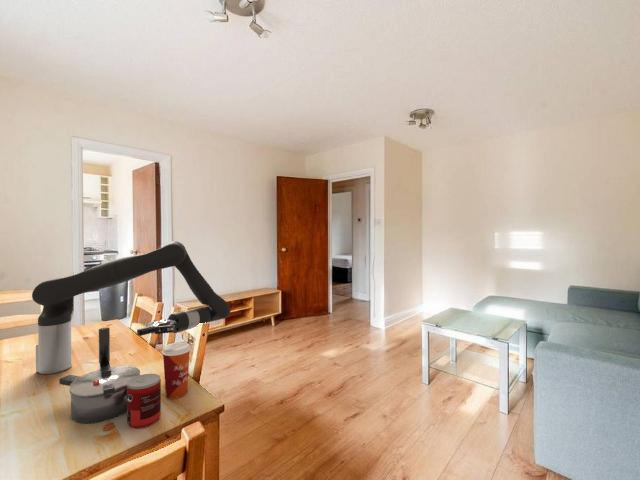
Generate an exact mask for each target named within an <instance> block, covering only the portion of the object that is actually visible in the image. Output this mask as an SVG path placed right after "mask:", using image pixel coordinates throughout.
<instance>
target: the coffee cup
mask: <svg viewBox="0 0 640 480" xmlns="http://www.w3.org/2000/svg"><path fill="white" fill-rule="evenodd" d="M191 350H192V347H191V346H190V344H189V343H188V342H185V341H178V342H171V343H169V344H166V345H164V347H163V350H162V352H161V354H162V360H163V371H164V385H165V395H166V398H168V399H179V398H182V397H184V396H185V395H187V393H188V387H189V386H188V384H189V371H190V370H189V369H190V368H189V367H190V354H191V353H190V352H191Z"/></svg>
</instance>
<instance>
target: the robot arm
mask: <svg viewBox="0 0 640 480" xmlns="http://www.w3.org/2000/svg"><path fill="white" fill-rule="evenodd" d="M171 267H175V269H177V270H178V272H179V273H180V274H181V275H182V277H183V279H184V280H185V282H186V283H187V286H188V288H189V289H190V291H191V292H192V293H193V295H194V296H195V298H196V299H197V300H198V301H199V303H201V304H202V305H204V307H202V306H201V307H197V308H192V309H186V310H182V311H178V312H173V313H171V314H169V316H168V318H165V319H164V318H163V319H161V320H159V321H157V320H156V319H154V320H152V321H150V322H149V323H147V324H146V326H144V327H141V328H138V329H136V335H137V336H139V337H142V336H145V335H150V334H151V335H153V334H155V335H160V334H161V335H162V334H170V333H173V334H177V333H181V332H184V331H188V330H192V329H193V328H196V327H198V326H197V325H198V324H199V323H205V322H206V324H208V323H210V322H216V321H220V320H223V319H227V318H228V317H230V314H231V306H230V305H229V304H228V302H227V301H226V300H225V299H224V298H222V296H221V295H219V294H217V293H216V292H215V291H214V289H213V287H211V285H210V284H209V283H208V281H207V280H206V279H205V277H204V276H203V275H202V274H201V273H200V271H199V270H198V269H197V267H196V266H195V264H194V263H193V261H192V259H191V258H190V255H189V253H188V251H187V249H186V247H185V246H184V244H183V243H181V242H179V241H175V240H172V241H169V242H167V243H166V244H164V246H162V247H160V248H156V249H155V250H152V251H150V252H147V253H144V254H137V255H130V256H123V257H120V258H116V259H113V260H110V261H107V262H106V261H105V262H104V263H101V264H98V265H96V266H93V267H90V268H87V269H86V270H83V271H81V272H79V273H76V274H73V275H68V276H65V277H55V278H51V279H48V280H45V281H42V282H40V283H38V284H37V285H36V286H35V287H34V288H33V290H32V293H31V298H32V300H33V302H35V303H36V304H37V305H40V306H43V307H42V308H43V309H42V311H41V313H40V314H39V316H38V318H37V332H38V333H37V336H38V337H37V341H38V343H37V344H36V345H35V372H36V373H39V374H41V375H51V374H56V373H61V372H63V371H66V370H68V369H70V368H71V367H72V315H73V311H74V298H75V297H76V296H79V295H81V294H82V295H83V294H85V293H88V292H94V291H97V290H101V289H105V288H110V287H113V286H116V285H120V284H122V283H125V282H128V281H131V280H134V279H136V278H139V277H141V276H143V275H146V274H149V273H151V272H155V271H159V270H163V269H168V268H171Z"/></svg>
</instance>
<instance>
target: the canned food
mask: <svg viewBox="0 0 640 480" xmlns="http://www.w3.org/2000/svg"><path fill="white" fill-rule="evenodd" d="M161 379H162V378H161V376H160V374H157V373H144V374H140V375H139V376H136V377H134V378H132V379H130V380H129V381H128V382H127V413H126V417H127V418H126V421H127V425H128V426H129V428H132V429H143V428H147V427H150V426H152V425H154V424H155V423H157V422H158V421H159V420H160V417H161V415H162V412H161V411H162V407H161V406H162V405H161V403H162V401H161V400H162V397H161V395H162V394H161V393H162V392H161V391H162V387H161V385H162V381H161Z"/></svg>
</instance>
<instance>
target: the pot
mask: <svg viewBox="0 0 640 480" xmlns="http://www.w3.org/2000/svg"><path fill="white" fill-rule="evenodd" d="M81 376H82V375H81ZM81 376H80V375H73V374H67V375H66V376H63V377H61V378H59V383H58V384H59V385H62V386H66V387H67V386H69V387H70V384H71V383H72V382H73V381H74V380H76V379H77V378H79V377H81ZM70 412H71V413H70V416H71V417H70V418H71V420H72V421H73V422H75V423H76V424H82V425H85V424H86V425H87V424H90V425H91V424H97V423H101V422H102V423H103V422H106V421H110V420H113V419H116V418H119V417H120V416H123V415H125V414H127V387H126V388H123V389H121V390H118V391H115V392H114V393H110V394H106V395H100V396H92V397H79V396H74V395H72V394H71V393H70Z"/></svg>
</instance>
